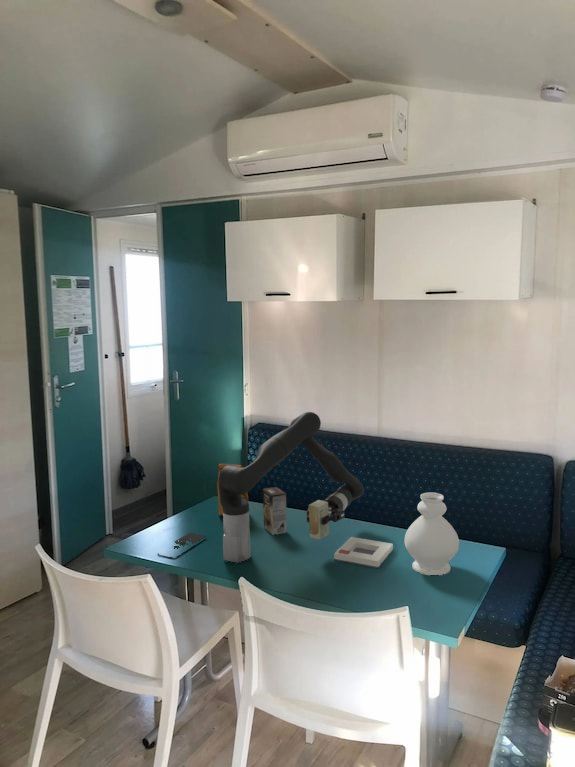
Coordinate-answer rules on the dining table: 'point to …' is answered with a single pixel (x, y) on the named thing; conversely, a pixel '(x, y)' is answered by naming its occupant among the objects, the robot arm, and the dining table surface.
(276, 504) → the coffee box
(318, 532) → the skincare box
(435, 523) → the decorative vase
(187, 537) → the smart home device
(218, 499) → the coffee package
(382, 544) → the socket plate
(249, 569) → the dining table surface
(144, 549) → the dining table surface
